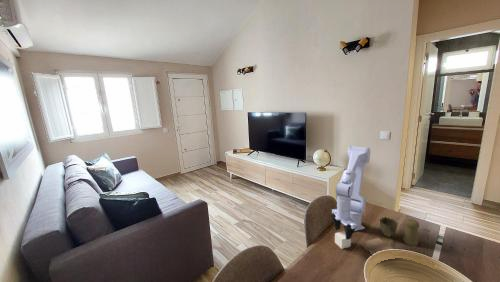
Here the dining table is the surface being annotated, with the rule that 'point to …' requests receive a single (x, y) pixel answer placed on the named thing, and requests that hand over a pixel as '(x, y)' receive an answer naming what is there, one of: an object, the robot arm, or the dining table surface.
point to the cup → (388, 226)
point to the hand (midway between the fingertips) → (342, 233)
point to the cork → (411, 232)
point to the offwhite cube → (342, 240)
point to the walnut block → (375, 245)
